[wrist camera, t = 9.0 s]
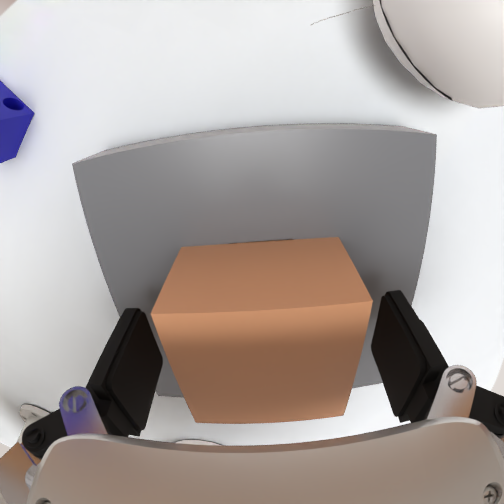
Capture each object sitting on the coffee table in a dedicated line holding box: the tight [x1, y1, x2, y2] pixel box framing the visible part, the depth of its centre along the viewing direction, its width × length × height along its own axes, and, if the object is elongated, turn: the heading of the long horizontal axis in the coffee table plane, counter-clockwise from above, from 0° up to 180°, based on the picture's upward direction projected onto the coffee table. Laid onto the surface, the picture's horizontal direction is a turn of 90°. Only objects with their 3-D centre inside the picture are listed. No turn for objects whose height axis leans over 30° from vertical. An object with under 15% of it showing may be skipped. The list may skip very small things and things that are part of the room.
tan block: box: [151, 237, 373, 424], centre depth 12 cm, size 6×6×7 cm
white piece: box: [311, 0, 504, 108], centre depth 6 cm, size 10×7×7 cm
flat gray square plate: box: [72, 124, 437, 397], centre depth 14 cm, size 14×14×3 cm
